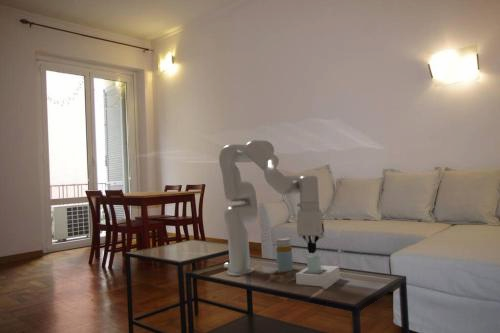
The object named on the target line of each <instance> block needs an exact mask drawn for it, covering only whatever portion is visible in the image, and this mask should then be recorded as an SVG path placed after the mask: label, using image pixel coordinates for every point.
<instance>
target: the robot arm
mask: <svg viewBox="0 0 500 333" xmlns="http://www.w3.org/2000/svg"><path fill="white" fill-rule="evenodd" d="M274 152H275V148H274V146H273V144H272V142H270V141H268V140H262V139H261V140H259V139H257V140H256V139H253V140H250V141H248V142H247V143H246V144H242V143H241V144H239V143H237V144H235V143H233V144H231V143H230V144H227V145H225V146H224V147H223V148H222V149H221V150H220V152H219V156H218V157H219V158H218V162H219V166H220V171H221V175H222V183H223V191H224V197H225V199H226V200H227V201H228V202H230V203H237V202H238V203H239V202H241V203H240V204H233V205H232V204H231V205H230V206H228V207H227V208H226V209H225V212H224V214H223V216H224V222H225V225H226V230H227V231H226V232H227V243H228V244H227V245H228V256H229V262H225V263H224V264H223V268H226V269H227V271H226V274H227V275H228V276H232V277H233V276H234V277H236V276H237V277H239V276H240V277H241V276H244V275H247V274H249V273H251V272H254V271H255V269H254V268H253V267H251V259H250V244H249V233H248V230H247V228H246V226H245V225H246V224H251V223H254V222H256V221H257V219H258V216H259V206H258V199H257V193H256V188H255V186H254V185H253V184H252V183H251V182H250V181H247V180H246V181H245V180H243V181H242V178H241V172H240V169H239V166H237V164H236V163H255V165H257V167H259V168H260V169H261V170H262V171H263V173H264V174H263V175H264V179H265V181H266V183H268V185H269V186H270V188H272V189H273V190H275V191H276V192H277V193H279V194H280V195H282V196H283V195H284V196H288V195H297V194H299V203H297V204H296V205H297V208H299V210H298V211H297V219H296V220H297V221H296V222H297V223H296V231H297V234H298V238H301V239H303V240H304V241H305V242H306V243H307V251H308V254H315V253H316V251H317V242H318V241H319V240H321V239H325V234H324V233H325V223H324V217H323V216H324V215H323V212H322V210H321V209H320V198H319V196H320V195H319V178H318V177H317V176H316V175H313V174H312V175H284V174H282V172H280V171H279V170H278V169H277V167H278V166H279V163H280V162H279V160H280V159H279V158H278V156H277V155H276V154H275V153H274Z"/></svg>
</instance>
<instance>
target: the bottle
mask: <svg viewBox="0 0 500 333" xmlns="http://www.w3.org/2000/svg"><path fill="white" fill-rule="evenodd" d="M275 251H276V252H275V253H276V264H277V271H283V272H292V271H294V260H293V250H292V246H291V238H290V237H281V238H276V250H275Z"/></svg>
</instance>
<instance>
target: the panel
mask: <svg viewBox="0 0 500 333" xmlns="http://www.w3.org/2000/svg"><path fill="white" fill-rule="evenodd" d="M295 278H296V279H295V281H296V282H295V285H304V286H313V287H320V288H319V289H320V290H327V289H328V288H330V287H331V286H333V285H334V284H335V283H337V281H339V280H340V279H341V274H340V266H336V265H322V264H321V272H320V273H308V266H307V267H305V268H303V269H302V270H300V271H298V272H296V273H295Z"/></svg>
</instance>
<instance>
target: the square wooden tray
mask: <svg viewBox="0 0 500 333" xmlns="http://www.w3.org/2000/svg"><path fill="white" fill-rule="evenodd" d="M295 280H296V277H293V273H292V271H289V272H283V271H278V270H276V271H274V272H272V273H270V274H268V279H267V280H266V282H268V283H282V284H288V283H291V282H292V281H295Z"/></svg>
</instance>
